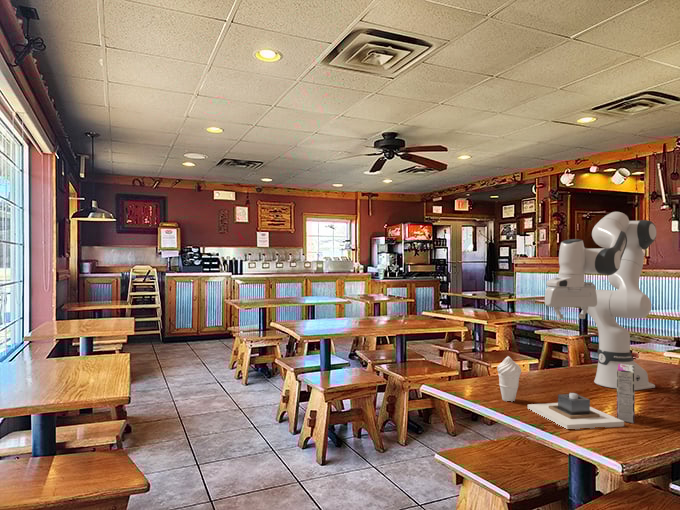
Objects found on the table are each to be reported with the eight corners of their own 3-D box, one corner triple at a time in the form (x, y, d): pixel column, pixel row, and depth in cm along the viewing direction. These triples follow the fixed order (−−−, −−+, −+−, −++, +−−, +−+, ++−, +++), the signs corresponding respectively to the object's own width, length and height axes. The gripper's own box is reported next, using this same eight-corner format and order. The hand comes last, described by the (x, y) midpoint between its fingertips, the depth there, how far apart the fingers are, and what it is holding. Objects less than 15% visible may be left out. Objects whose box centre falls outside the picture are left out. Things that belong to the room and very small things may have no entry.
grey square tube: (575, 408, 157) (575, 393, 157) (589, 415, 150) (589, 399, 150) (557, 409, 155) (558, 394, 155) (571, 416, 149) (571, 400, 149)
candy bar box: (617, 411, 159) (617, 363, 159) (634, 414, 157) (634, 365, 157) (615, 420, 150) (616, 369, 150) (634, 424, 147) (635, 371, 147)
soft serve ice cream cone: (503, 395, 176) (503, 352, 176) (525, 400, 170) (525, 356, 170) (492, 399, 170) (493, 355, 170) (514, 405, 164) (515, 359, 164)
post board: (578, 406, 165) (579, 384, 165) (624, 426, 145) (624, 401, 145) (527, 408, 160) (527, 386, 161) (567, 430, 141) (567, 404, 141)
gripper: (589, 281, 182) (588, 317, 182) (542, 281, 178) (541, 317, 178) (601, 282, 176) (601, 319, 175) (553, 282, 171) (552, 320, 171)
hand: (570, 318), depth 176 cm, fingers open, 8 cm apart
